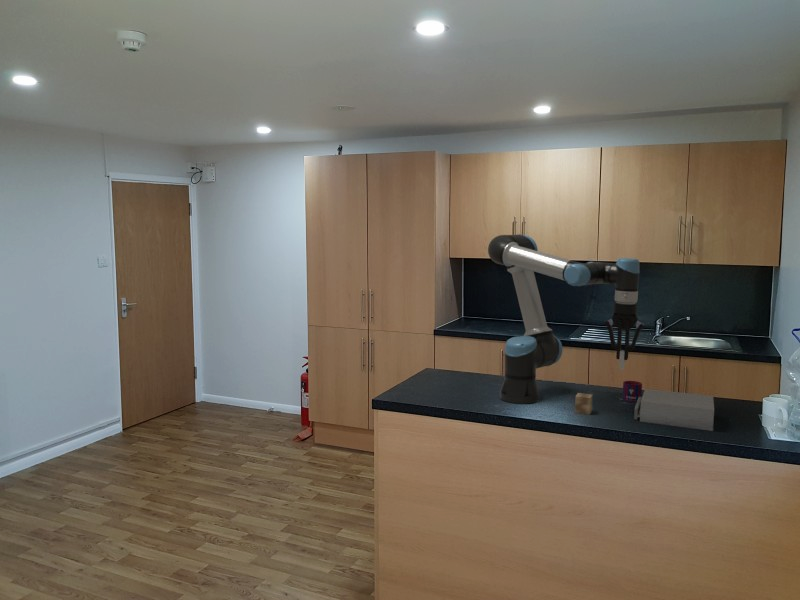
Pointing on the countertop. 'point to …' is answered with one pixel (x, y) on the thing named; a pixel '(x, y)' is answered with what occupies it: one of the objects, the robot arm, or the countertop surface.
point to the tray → (637, 408)
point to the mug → (632, 391)
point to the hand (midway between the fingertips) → (621, 368)
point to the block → (583, 403)
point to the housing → (677, 409)
